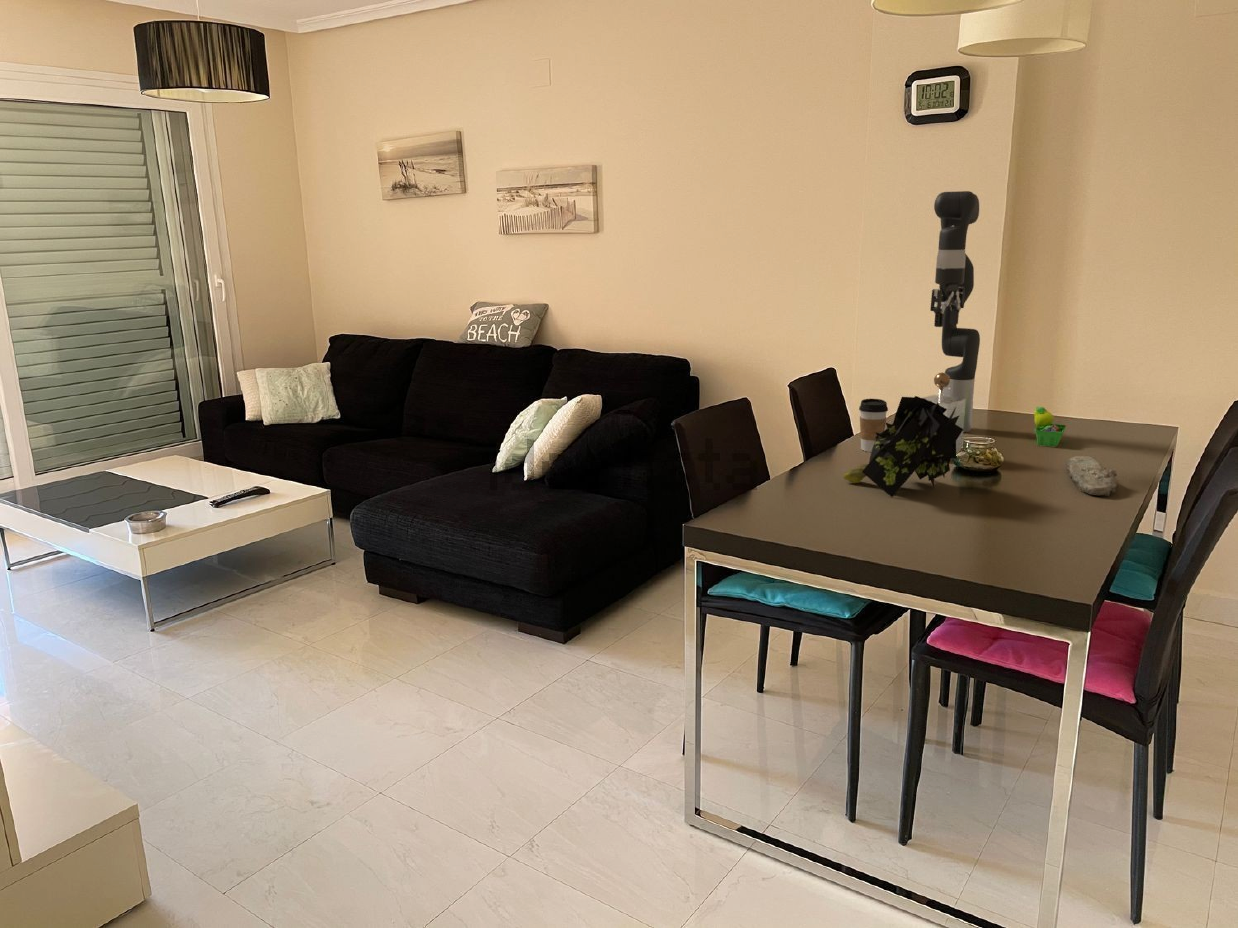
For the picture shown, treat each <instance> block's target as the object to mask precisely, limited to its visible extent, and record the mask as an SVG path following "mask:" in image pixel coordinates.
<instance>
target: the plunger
mask: <svg viewBox="0 0 1238 928" xmlns="http://www.w3.org/2000/svg"><path fill="white" fill-rule="evenodd" d="M933 383H934V386H936V387H937V388H938V396H939V398H938V400H943V392H944V388H945V387H947V386H948V385H949V383H950V377H949V375H948V374H946V373H945V372H939V373H936V375H935V376H934V378H933Z"/></svg>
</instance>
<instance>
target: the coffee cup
mask: <svg viewBox="0 0 1238 928" xmlns="http://www.w3.org/2000/svg"><path fill="white" fill-rule="evenodd" d="M858 410H859V413H860V414H859V415H860V416H859V431H860V450H861V449H862V450H864V451H863V452H865V451H867V452H866V453H871V452H872V448H873V445H874V443H875V441H876V440H875V439H876V438H875V437H877V435H876V433H880V434H881V433H882V432H883V431H885V430H886V423H887V412H888V411H889V408H888V403H887V401H885V400H884V399H879V398H864V399H862V400H861V401H860V405H859V408H858ZM885 422H886V423H885ZM862 450H861V451H862Z"/></svg>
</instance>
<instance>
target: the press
mask: <svg viewBox="0 0 1238 928" xmlns="http://www.w3.org/2000/svg"><path fill="white" fill-rule="evenodd" d="M922 398H925V399H926V400H928V401H931V402H933V403H935V404H937V402H938V404H939V405H940V406H942V407H944V408H946V409H947V410H946V411H945V412H944V413H943V414H944V415H945V416H947V417H948V418H949V417H950V416H951V414H952V412H953V410H954V409H955V407H956V409H955V412H954V415H953V417H952V418H954V417H957V416H959V415H960V416H959V418H958V420H957V422H956V425H957V426H959V427H961V428H962V429H963V426H964V414H965V402H966V399H961V398H953V397H946V396H943V400H938V398H939V394H937V395H936V394H933V395H932V394H931V395H928V396H924V397H922ZM956 405H957V406H956ZM963 436H964V432H963V431H962V432H961V434H960V435H959V437H958V438H957V440H956V453H957V452H958V451H959V450H960V449H961V448H962V449H963ZM950 461H953V460H952V459H951V460H950Z"/></svg>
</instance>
